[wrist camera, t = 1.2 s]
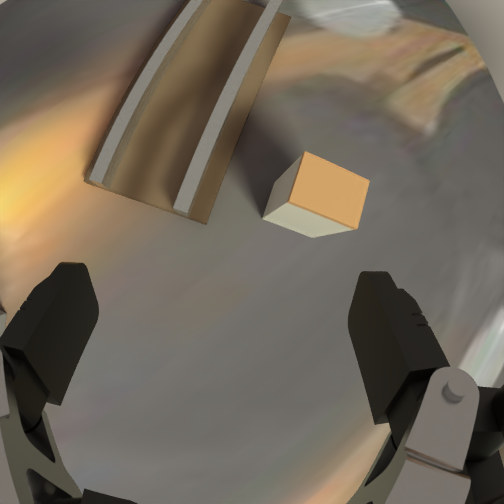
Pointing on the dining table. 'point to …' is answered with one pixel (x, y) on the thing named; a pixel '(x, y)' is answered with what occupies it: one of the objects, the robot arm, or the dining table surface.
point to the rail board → (189, 106)
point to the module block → (316, 198)
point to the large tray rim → (2, 321)
